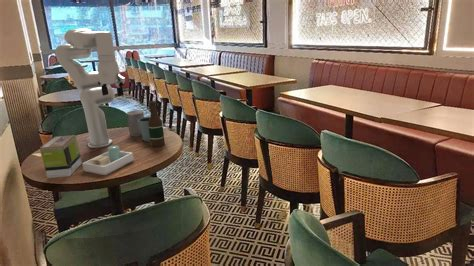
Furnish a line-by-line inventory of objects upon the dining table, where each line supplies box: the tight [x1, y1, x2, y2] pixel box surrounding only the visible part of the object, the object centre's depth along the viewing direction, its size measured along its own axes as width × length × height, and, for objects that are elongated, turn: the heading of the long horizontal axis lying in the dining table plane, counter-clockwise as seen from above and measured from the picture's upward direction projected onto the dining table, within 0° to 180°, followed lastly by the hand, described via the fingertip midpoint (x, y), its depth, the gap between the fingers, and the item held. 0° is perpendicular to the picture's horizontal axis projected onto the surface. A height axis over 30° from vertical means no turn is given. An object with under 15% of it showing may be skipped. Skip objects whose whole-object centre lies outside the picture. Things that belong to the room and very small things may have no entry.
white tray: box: [81, 150, 135, 176], centre depth 153 cm, size 14×18×4 cm
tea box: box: [39, 134, 83, 179], centre depth 149 cm, size 15×10×15 cm, turn 5°
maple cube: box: [91, 155, 110, 166], centre depth 149 cm, size 5×5×5 cm
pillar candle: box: [126, 109, 145, 137], centre depth 198 cm, size 10×10×15 cm
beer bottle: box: [148, 100, 165, 148], centre depth 175 cm, size 8×8×24 cm
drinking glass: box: [138, 116, 150, 142], centre depth 188 cm, size 10×10×12 cm
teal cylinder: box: [107, 145, 121, 163], centre depth 156 cm, size 5×5×7 cm
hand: (113, 95), depth 159 cm, fingers open, 9 cm apart
